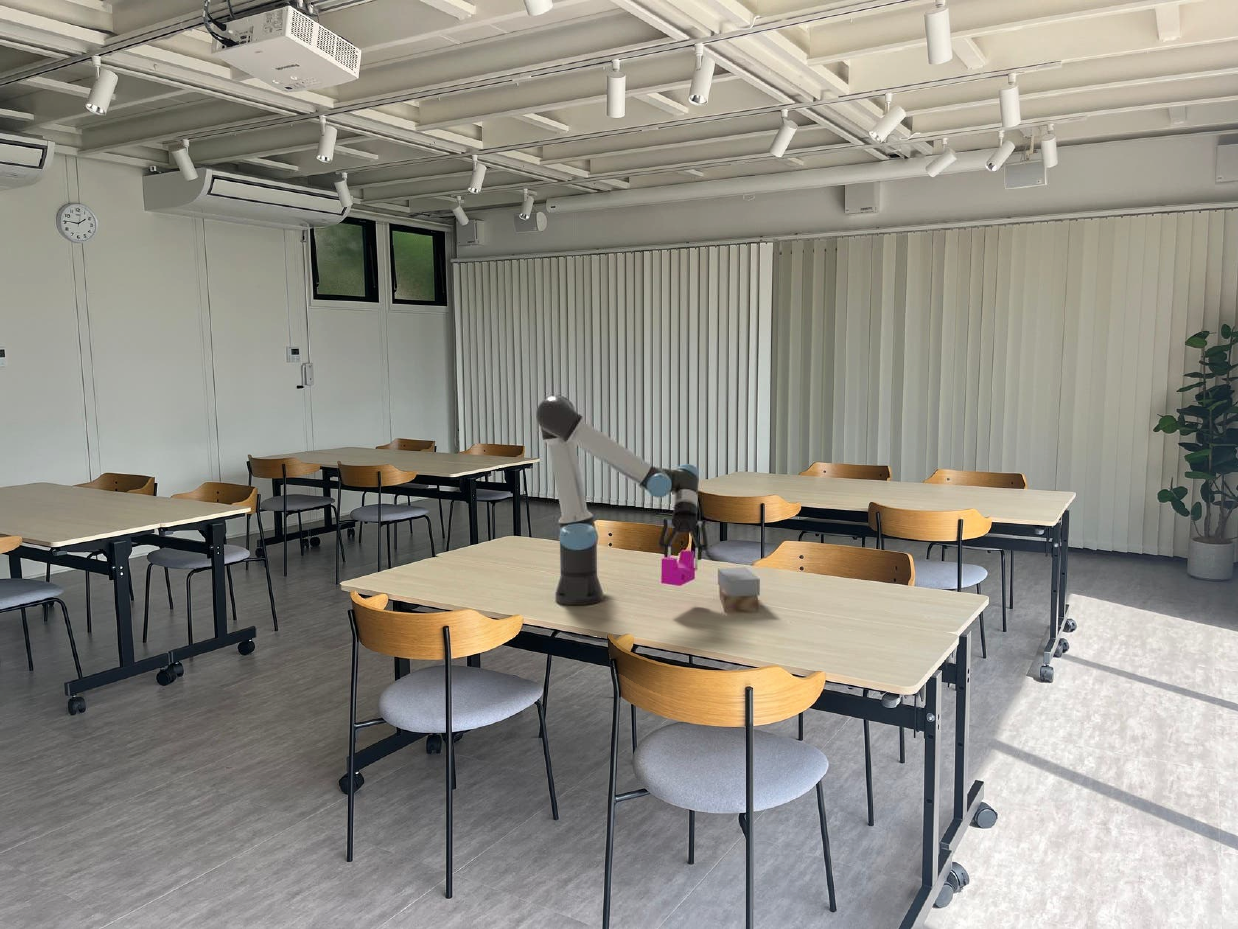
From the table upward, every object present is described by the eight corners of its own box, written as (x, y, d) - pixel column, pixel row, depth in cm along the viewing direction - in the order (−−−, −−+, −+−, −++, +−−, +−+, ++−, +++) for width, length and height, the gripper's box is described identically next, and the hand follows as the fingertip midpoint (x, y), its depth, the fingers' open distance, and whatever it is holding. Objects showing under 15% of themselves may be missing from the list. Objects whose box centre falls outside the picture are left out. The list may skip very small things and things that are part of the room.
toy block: (679, 586, 272) (680, 561, 271) (661, 583, 275) (661, 558, 274) (701, 576, 285) (701, 552, 284) (682, 573, 288) (683, 550, 287)
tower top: (730, 596, 274) (730, 580, 273) (717, 584, 289) (717, 568, 289) (759, 595, 275) (759, 579, 274) (745, 582, 291) (745, 567, 290)
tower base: (724, 613, 274) (724, 597, 273) (719, 598, 292) (719, 582, 291) (757, 613, 273) (757, 597, 273) (750, 597, 291) (750, 582, 291)
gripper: (717, 514, 296) (715, 575, 282) (654, 512, 298) (649, 572, 284) (717, 501, 290) (716, 562, 276) (653, 499, 292) (648, 559, 278)
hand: (682, 567), depth 280 cm, fingers closed on toy block, 8 cm apart
